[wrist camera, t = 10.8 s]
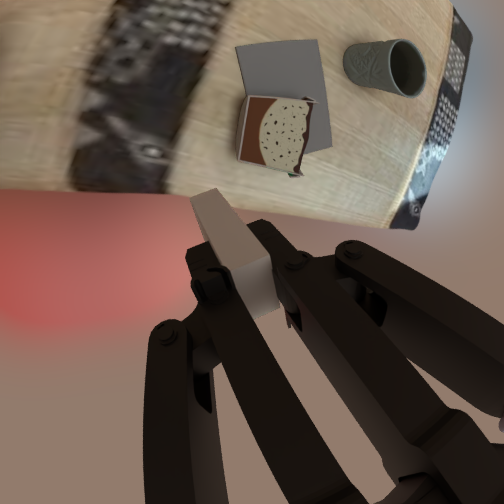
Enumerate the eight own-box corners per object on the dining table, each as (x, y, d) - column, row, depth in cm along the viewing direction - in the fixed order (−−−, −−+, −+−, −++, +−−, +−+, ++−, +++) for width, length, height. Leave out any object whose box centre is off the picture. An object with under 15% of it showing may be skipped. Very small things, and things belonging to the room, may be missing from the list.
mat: (261, 166, 43) (262, 167, 42) (235, 47, 30) (236, 46, 30) (331, 146, 45) (332, 146, 45) (315, 39, 33) (317, 39, 33)
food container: (231, 161, 42) (290, 168, 44) (236, 171, 36) (303, 179, 39) (242, 86, 35) (304, 98, 38) (250, 84, 30) (320, 99, 33)
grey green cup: (380, 86, 42) (429, 95, 32) (344, 93, 40) (394, 101, 31) (372, 40, 35) (421, 40, 26) (332, 41, 34) (384, 37, 25)
